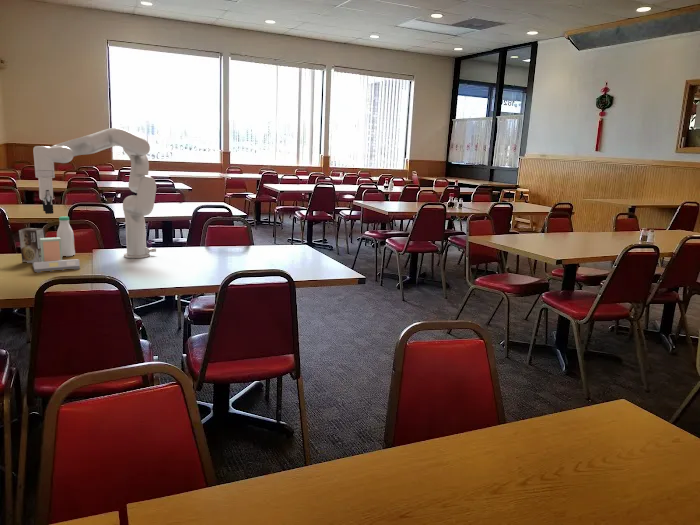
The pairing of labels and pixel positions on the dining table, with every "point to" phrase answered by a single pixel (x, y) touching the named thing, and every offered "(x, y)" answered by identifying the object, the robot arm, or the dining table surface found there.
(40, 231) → the coffee box
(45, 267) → the shelf board
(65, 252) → the milk bottle
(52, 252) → the box
